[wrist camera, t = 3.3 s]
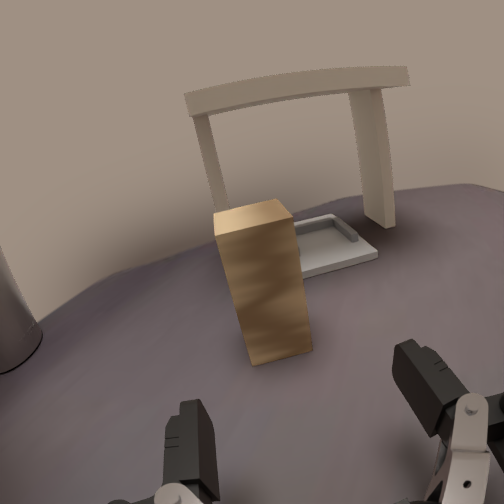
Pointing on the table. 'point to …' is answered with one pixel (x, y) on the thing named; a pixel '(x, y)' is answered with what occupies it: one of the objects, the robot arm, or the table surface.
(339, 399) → the table surface
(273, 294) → the birch block
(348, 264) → the bench shelf
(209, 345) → the table surface
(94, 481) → the table surface
